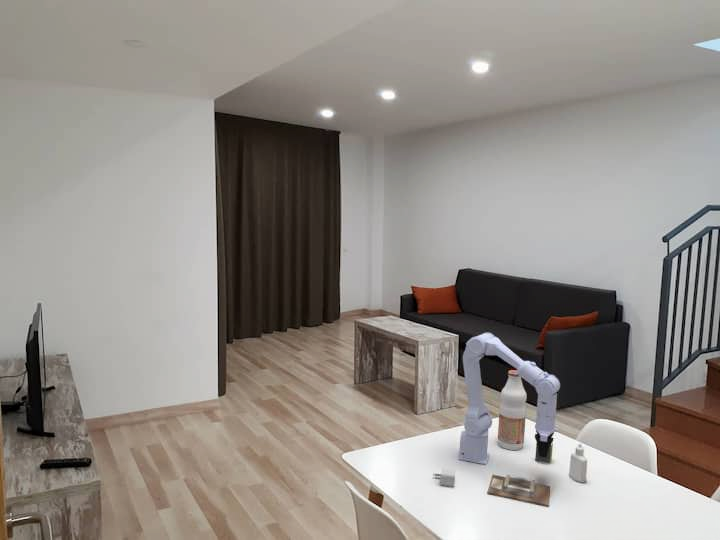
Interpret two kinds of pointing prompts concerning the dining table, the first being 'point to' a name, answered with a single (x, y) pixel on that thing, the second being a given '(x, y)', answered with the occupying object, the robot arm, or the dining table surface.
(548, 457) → the plug
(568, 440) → the dining table surface
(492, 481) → the socket dock
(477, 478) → the dining table surface
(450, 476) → the usb wall charger
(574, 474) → the eye dropper bottle
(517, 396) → the fruit juice
